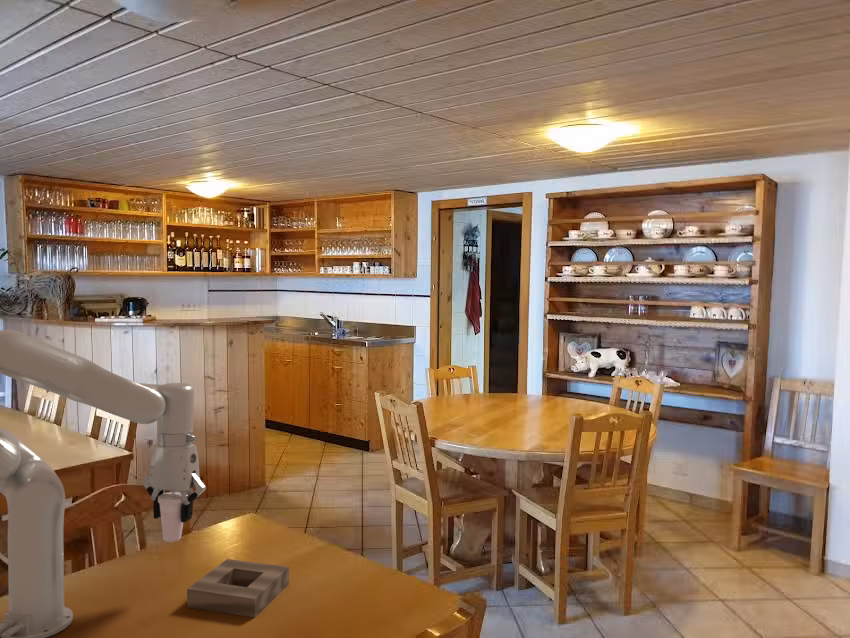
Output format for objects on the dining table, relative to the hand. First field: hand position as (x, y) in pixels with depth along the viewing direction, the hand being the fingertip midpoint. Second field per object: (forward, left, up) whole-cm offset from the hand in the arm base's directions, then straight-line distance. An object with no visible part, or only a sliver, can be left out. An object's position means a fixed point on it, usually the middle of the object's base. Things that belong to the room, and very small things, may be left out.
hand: (172, 517), depth 146 cm
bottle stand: (+2, -15, -17) cm, 23 cm away
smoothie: (0, 0, -5) cm, 5 cm away
